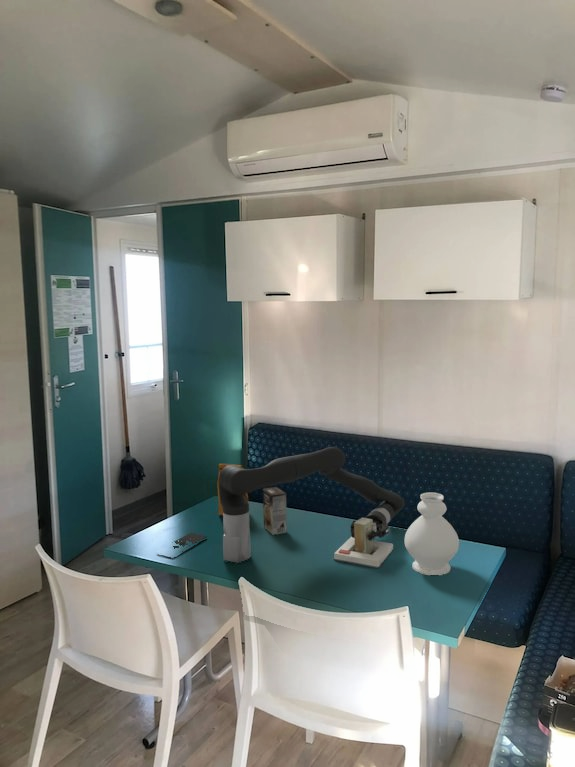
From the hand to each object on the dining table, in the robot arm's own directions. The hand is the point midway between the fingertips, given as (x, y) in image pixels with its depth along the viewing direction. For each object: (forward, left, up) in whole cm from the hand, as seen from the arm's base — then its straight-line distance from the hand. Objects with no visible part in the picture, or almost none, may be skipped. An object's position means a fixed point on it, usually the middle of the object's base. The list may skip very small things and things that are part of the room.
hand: (361, 536), depth 223 cm
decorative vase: (+3, -24, -8) cm, 25 cm away
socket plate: (+3, 0, -8) cm, 8 cm away
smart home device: (-17, +64, -9) cm, 67 cm away
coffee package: (+19, +64, -8) cm, 67 cm away
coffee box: (+11, +40, -8) cm, 42 cm away
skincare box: (+3, 0, -7) cm, 8 cm away
